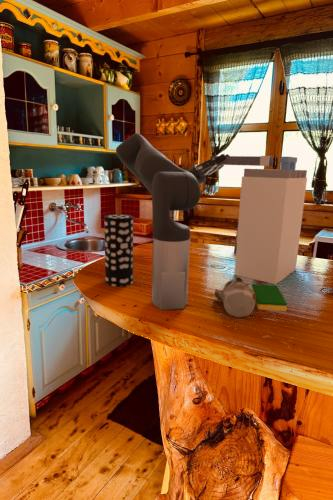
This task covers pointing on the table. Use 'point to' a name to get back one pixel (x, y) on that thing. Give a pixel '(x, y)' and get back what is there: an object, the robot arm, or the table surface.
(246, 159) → the grey rectangular bar
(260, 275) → the stand
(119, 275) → the white-spotted black cylinder
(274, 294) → the dish sponge
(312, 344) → the table surface
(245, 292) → the ceramic sculpture
